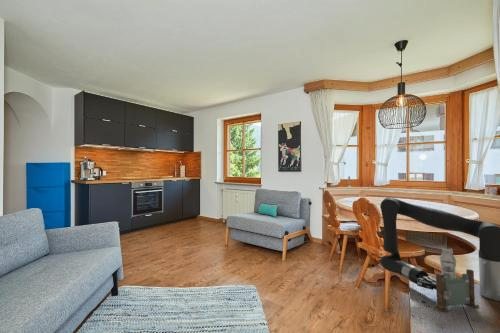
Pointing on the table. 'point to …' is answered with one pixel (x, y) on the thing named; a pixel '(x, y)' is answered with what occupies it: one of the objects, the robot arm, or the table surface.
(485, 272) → the robot arm
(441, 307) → the post
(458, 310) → the table surface
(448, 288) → the gate
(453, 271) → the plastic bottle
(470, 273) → the hinge post
